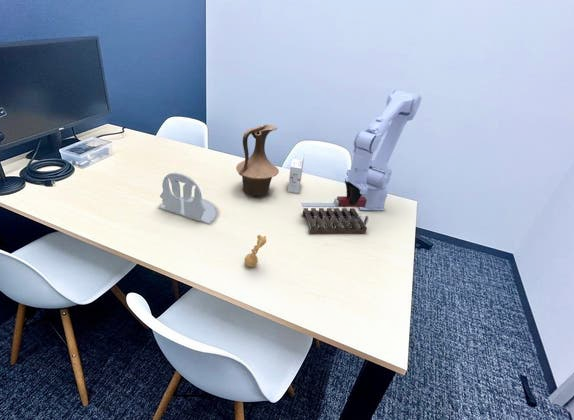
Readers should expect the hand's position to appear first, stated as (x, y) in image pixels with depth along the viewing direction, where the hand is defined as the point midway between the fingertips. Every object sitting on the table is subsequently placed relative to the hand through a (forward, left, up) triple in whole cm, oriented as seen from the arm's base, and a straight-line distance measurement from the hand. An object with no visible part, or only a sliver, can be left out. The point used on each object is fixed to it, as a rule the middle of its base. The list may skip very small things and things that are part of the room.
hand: (351, 201), depth 119 cm
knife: (+7, 0, -1) cm, 7 cm away
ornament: (+57, -9, -8) cm, 58 cm away
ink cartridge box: (+15, -25, -8) cm, 30 cm away
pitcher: (+32, -22, -8) cm, 40 cm away
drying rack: (+6, +2, -8) cm, 10 cm away
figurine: (+37, +24, -8) cm, 45 cm away
